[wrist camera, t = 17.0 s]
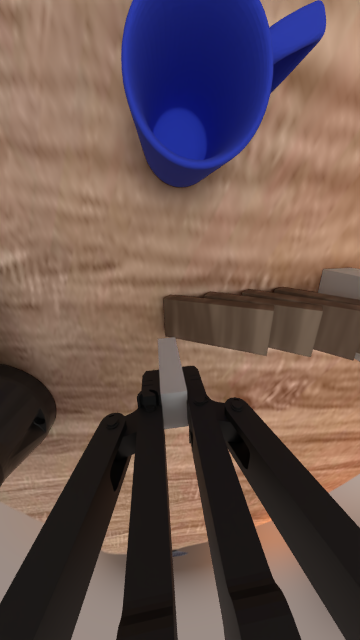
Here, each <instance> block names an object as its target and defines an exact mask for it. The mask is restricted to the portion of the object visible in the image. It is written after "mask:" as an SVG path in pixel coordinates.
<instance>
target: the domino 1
mask: <svg viewBox="0 0 360 640" xmlns="http://www.w3.org/2000/svg"><path fill="white" fill-rule="evenodd" d="M163 304H164V319H165V335H166V337H175V338H177V339H182V340H187V341H192V342H197V343H203V344H208V345H213V346H218V347H223V348H228V349H233V350H239V351H244V352H249V353H254V354H259V355H264V356H267V350H268V344H269V338H270V332H271V326H272V319H273V313H274V305H267V304H257V303H247V302H237V301H227V300H217V299H207V298H197V297H187V296H177V295H169V296H167V297H165V298H164V299H163Z"/></svg>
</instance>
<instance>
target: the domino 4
mask: <svg viewBox="0 0 360 640" xmlns="http://www.w3.org/2000/svg"><path fill="white" fill-rule="evenodd" d="M274 293H278V294H285V295H291V296H298V297H305V298H312V299H319V300H325V301H332V302H339V303H346V304H352V305H359V306H360V300H358V299H352V298H346V297H340V296H334V295H328V294H322V293H316V292H310V291H304V290H298V289H292V288H286V287H280V288H277V289H275V291H274ZM356 353H359V354H360V344H359V346H358V349H357V352H356Z"/></svg>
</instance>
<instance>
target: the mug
mask: <svg viewBox="0 0 360 640" xmlns="http://www.w3.org/2000/svg"><path fill="white" fill-rule="evenodd" d="M325 29H326V15H325V8H324V4H323V3H322V1H319V0H318V1H315V2H313V3H311V4H308V5H306V6H304V7H302V8H300V9H298V10H297V11H295V12H293V13H291V14H289V15H288V16H286V17H284V18H283V19H281V20H279V21H278V22H277V23H275V24H274V25H272V26H271V27H270V28H269V25H268V21H267V17H266V14H265V11H264V9H263V6H262V4H261V2H260V0H133V1H132V4H131V6H130V9H129V12H128V15H127V18H126V23H125V27H124V33H123V40H122V55H121V61H122V76H123V84H124V89H125V93H126V97H127V101H128V104H129V107H130V111H131V114H132V117H133V120H134V123H135V126H136V129H137V133H138V136H139V139H140V142H141V145H142V148H143V151H144V155H145V157H146V160H147V162H148V164H149V166H150V168H151V169H152V171H153V172H154V173H155V175H156V176H157V177H158V178H159V179H161V180H162V181H163V182H165V183H167V184H169V185H171V186H175V187H188V186H191V185H194V184H196V183H197V182H199V181H201V180H202V179H203V178H205V177H206V176H208V175H209V174H211V173H212V172H214V171H215V170H217V169H218V168H220V167H221V166H222V165H224V164H225V163H227V162H228V161H230V160H231V159H233V158H234V157H235V156H236V155H238V154H239V153H240V152H241V151H242V150H243V149H244V148H245V147H246V145H247V144H248V143H249V142H250V140H251V139H252V137H253V136H254V134H255V133H256V131H257V129H258V127H259V125H260V123H261V121H262V119H263V116H264V114H265V111H266V108H267V105H268V101H269V97H270V94H271V92H272V91H273V90H274V89H275V88H276V87H277V86H278V85H279V84H280V83H281V82H282V81H283V80H284V79H285V78H286V77H287V76H288V75H289V74H290V73H291V72H292V71H293V70H294V68H295V67H296V66H297V65H298V64H299V63H300V62H301V61H302V60H303V59H304V58H305V56H306V55H307V54H308V53H309V52H310V51H311V50H312V49H313V48H314V47H315V46H316V45H317V43H318V42H319V41H320V40H321V38H322V37H323V35H324V32H325Z"/></svg>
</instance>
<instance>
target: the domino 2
mask: <svg viewBox="0 0 360 640" xmlns="http://www.w3.org/2000/svg"><path fill="white" fill-rule="evenodd" d="M204 298H207V299H217V300H227V301H237V302H247V303H257V304H267V305H274V313H273V319H272V326H271V332H270V338H269V344H268V347H269V348H273V349H277V350H282V351H286V352H290V353H294V354H299V355H303V356H307V357H311V354H312V350H313V347H314V343H315V339H316V336H317V332H318V328H319V324H320V321H321V317H322V313H323V307H322V306H321V305H313V304H305V303H297V302H289V301H281V300H273V299H265V298H257V297H248V296H240V295H232V294H224V293H216V292H209V293H207V294H206V295H204Z"/></svg>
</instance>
